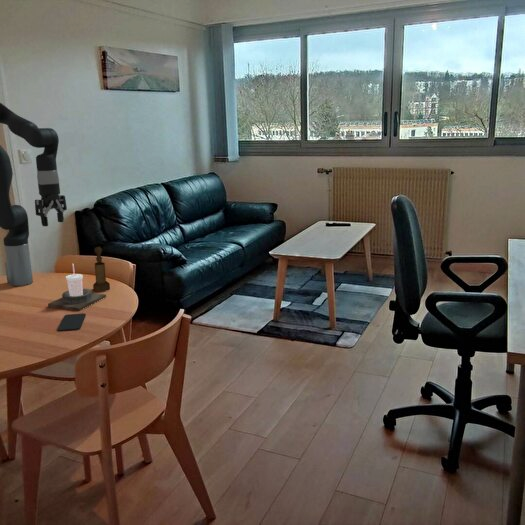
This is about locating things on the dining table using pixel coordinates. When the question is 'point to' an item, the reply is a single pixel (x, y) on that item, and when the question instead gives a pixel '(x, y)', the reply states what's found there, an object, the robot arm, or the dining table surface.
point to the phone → (71, 322)
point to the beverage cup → (75, 283)
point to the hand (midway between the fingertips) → (53, 224)
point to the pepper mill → (100, 273)
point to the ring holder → (76, 300)
